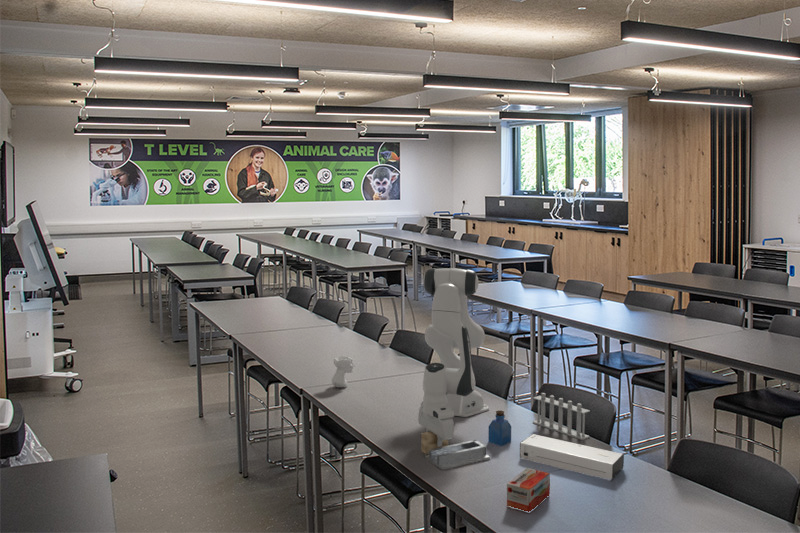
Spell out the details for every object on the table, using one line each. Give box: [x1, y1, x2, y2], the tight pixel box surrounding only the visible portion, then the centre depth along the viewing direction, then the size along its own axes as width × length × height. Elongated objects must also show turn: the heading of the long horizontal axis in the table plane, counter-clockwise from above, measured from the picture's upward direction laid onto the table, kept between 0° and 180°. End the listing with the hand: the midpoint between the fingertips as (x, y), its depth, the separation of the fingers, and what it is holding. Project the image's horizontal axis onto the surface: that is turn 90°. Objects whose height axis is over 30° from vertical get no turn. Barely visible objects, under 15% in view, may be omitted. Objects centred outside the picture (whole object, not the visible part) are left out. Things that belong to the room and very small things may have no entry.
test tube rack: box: [532, 392, 591, 441], centre depth 275 cm, size 25×4×13 cm, turn 39°
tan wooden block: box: [420, 431, 450, 455], centre depth 256 cm, size 10×3×7 cm, turn 118°
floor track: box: [425, 439, 491, 471], centre depth 247 cm, size 20×12×4 cm, turn 118°
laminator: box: [519, 433, 625, 480], centre depth 242 cm, size 34×12×6 cm, turn 54°
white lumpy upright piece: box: [331, 355, 355, 388], centre depth 335 cm, size 10×11×15 cm
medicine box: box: [506, 467, 551, 512], centre depth 214 cm, size 15×8×8 cm, turn 145°
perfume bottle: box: [487, 410, 512, 447], centre depth 263 cm, size 6×6×12 cm
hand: (435, 443), depth 256 cm, fingers open, 4 cm apart
